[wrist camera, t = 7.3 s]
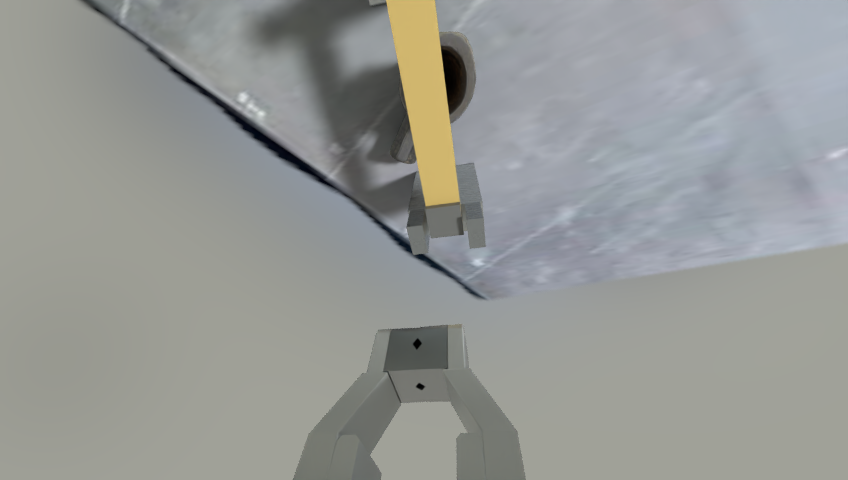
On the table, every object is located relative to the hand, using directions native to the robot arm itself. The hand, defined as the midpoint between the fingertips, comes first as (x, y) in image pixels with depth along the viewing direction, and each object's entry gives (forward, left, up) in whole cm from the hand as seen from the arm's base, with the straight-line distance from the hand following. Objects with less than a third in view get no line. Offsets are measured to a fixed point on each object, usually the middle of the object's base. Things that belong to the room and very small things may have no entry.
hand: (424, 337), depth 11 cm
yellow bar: (-4, 0, -18) cm, 19 cm away
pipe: (-3, -1, -29) cm, 29 cm away
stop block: (+6, 0, -28) cm, 29 cm away
